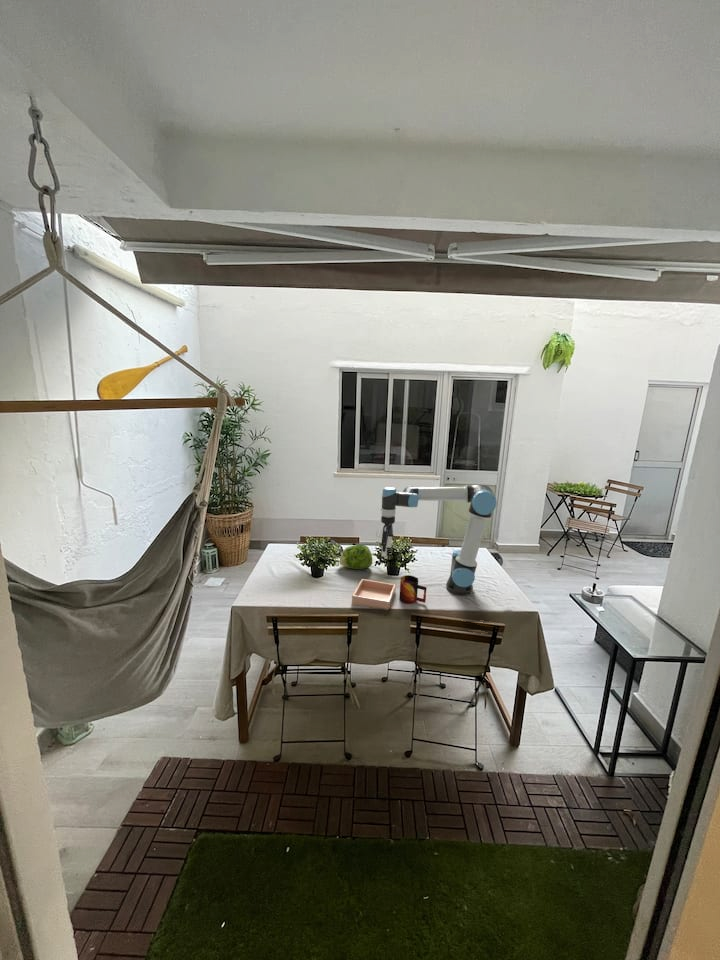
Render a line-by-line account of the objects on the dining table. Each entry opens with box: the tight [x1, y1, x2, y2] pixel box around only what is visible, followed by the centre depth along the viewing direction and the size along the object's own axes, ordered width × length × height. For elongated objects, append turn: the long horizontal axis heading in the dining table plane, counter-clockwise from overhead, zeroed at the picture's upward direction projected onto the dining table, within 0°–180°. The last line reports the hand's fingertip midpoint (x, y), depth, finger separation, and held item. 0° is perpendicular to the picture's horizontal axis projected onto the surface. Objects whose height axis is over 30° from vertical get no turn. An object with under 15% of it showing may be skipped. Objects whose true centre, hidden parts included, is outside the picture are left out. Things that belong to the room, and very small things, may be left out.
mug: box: [398, 574, 427, 605], centre depth 223 cm, size 10×14×12 cm
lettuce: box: [338, 544, 373, 570], centre depth 259 cm, size 16×21×15 cm
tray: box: [351, 578, 397, 611], centre depth 224 cm, size 20×20×5 cm
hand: (386, 551), depth 228 cm, fingers open, 13 cm apart
